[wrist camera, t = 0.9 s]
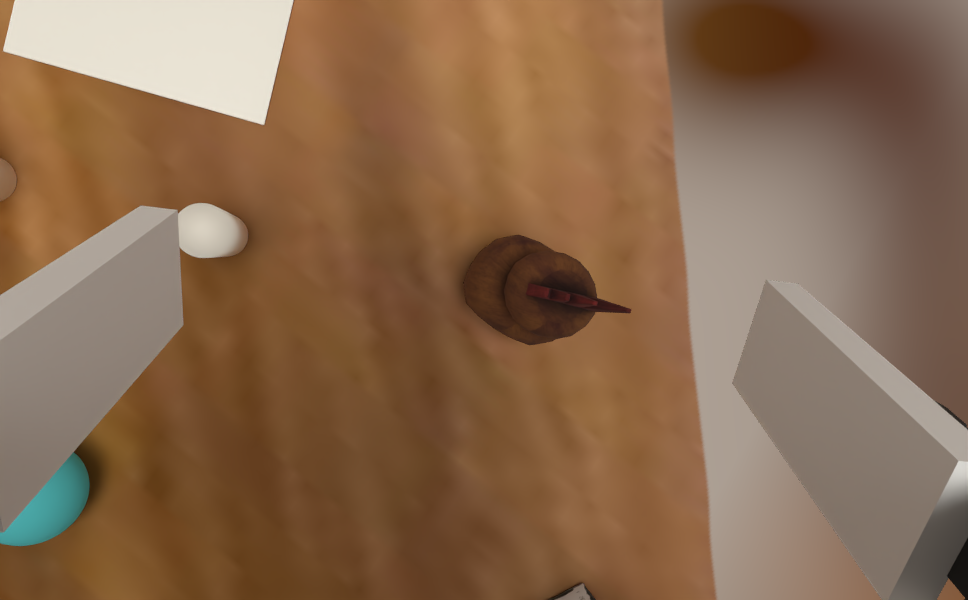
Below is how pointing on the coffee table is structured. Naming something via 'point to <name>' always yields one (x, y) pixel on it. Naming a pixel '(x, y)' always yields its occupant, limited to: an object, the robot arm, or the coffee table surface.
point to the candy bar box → (575, 594)
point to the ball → (51, 506)
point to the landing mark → (162, 46)
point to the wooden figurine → (532, 291)
